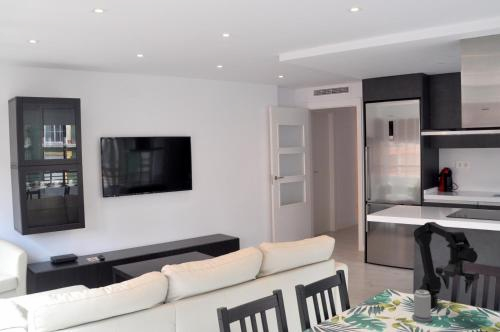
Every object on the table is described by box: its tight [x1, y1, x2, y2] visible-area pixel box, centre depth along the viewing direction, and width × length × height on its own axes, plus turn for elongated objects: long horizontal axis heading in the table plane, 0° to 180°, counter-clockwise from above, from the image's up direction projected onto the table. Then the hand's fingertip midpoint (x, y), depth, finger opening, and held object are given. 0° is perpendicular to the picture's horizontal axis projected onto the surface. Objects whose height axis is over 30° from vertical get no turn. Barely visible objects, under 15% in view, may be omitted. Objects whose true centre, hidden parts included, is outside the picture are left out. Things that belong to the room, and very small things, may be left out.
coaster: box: [411, 313, 434, 324], centre depth 228 cm, size 9×9×1 cm
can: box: [413, 289, 432, 319], centre depth 227 cm, size 8×8×12 cm
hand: (456, 291), depth 226 cm, fingers open, 9 cm apart
